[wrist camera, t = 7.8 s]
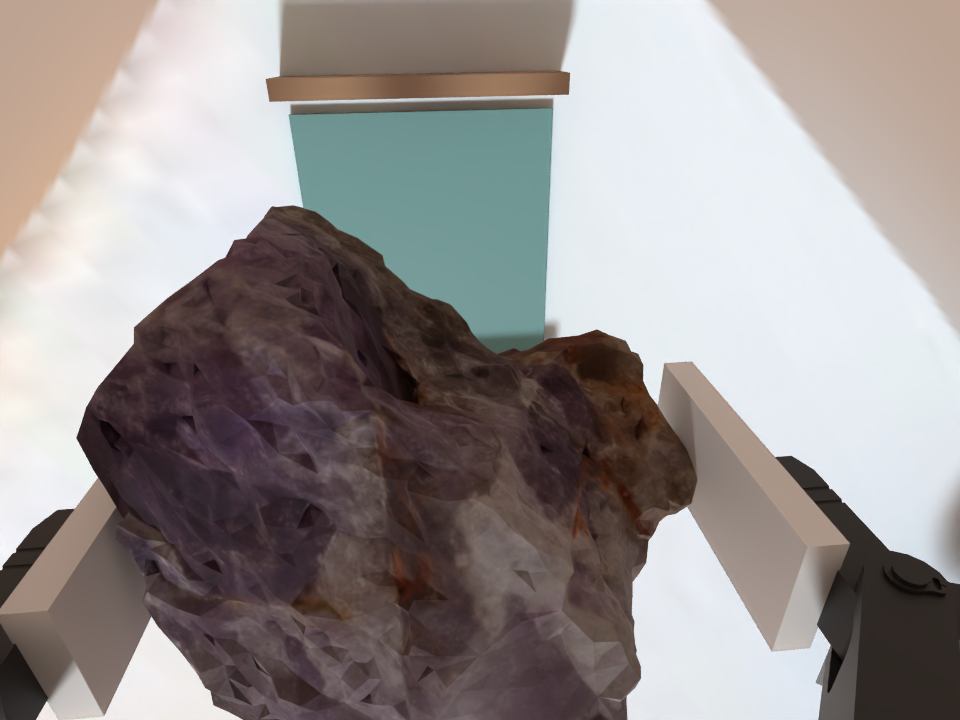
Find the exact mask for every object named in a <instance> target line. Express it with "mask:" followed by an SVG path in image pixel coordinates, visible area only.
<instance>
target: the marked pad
mask: <svg viewBox="0 0 960 720" xmlns="http://www.w3.org/2000/svg"><path fill="white" fill-rule="evenodd" d="M552 112H553V108H526V109H486V110H446V111H407V112H367V113H328V114H290V115H289V119H290V125H291V132H292V138H293V145H294V151H295V157H296V164H297V170H298V176H299V183H300V189H301V195H302V202H303V208H304V209H308V210H311V211H315V212H317V213H318V214H320V215H321V216H322V217H324V218H325V219H326V220H328V221H329V222H330V223H331V224H332V225H334V226H335V227H336V228H337V229H338V230H341V231H343V232H345V233H348V234H350V235H352V236H354V237H357V238H359V239H360V240H361V241H363V242H364V243H366V244H367V245H368V246H370V247H371V248H373V249H374V250H376V251H377V252H379V253H380V254H382V255H383V259H384V263H385V266H386V267H387V268H388V269H389V270H391V271H392V272H393V273H394V274H395V275H396V276H397V277H399V278H400V279H401V280H402V281H403V282H404V283H405V284H406V285H407V286H408V287H409V288H410V289H411V290H413V291H416V292H418V293H420V294H422V295H424V296H427V297H429V298H431V299H438V300H441V301H443V302H446V303H448V304H451V305H452V306H453V308H454V309H455V310H456V311H457V312H458V313H459V314H460V315H461V316H462V317H463V319H464V320H465V321H466V322H467V324H468V326H469V328H470V330H471V332H472V333H473V334H474V336H475V337H476V338H477V339H478V340H479V341H480V342H481V343H482V344H483V345H484V346H486V347H487V348H488V349H490V350H491V351H493V352H495V353H496V354H498V353H501V352H504V351H507V350H510V349H512V348H515V349H517V350H519V351H525V350H528V349H530V348H532V347H534V346H536V345H538V344H540V343H541V342H543V340H544V315H545V289H546V264H547V239H548V213H549V188H550V163H551V137H552Z"/></svg>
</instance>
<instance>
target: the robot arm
mask: <svg viewBox="0 0 960 720" xmlns="http://www.w3.org/2000/svg"><path fill="white" fill-rule="evenodd" d="M658 407H659V409H660V410H661V412H662V414H663V415H664V417H665V419H666V420H667V422H668V423H669V424H670V426H671V427H672V429H673V430H674V432H675V433H676V435H677V436H678V437H679V439H680V440H681V442H682V443H683V445H684V446H685V448H686V449H687V452H688V454H689V457H690V459H691V461H692V464H693V467H694V470H695V473H696V476H697V484H696V488H695V492H694V496H693V500H692V504H690V505H688V506H687V507H688V509H689V510H690V512H691V514H692V516H693V517H694V519H695V521H696V522H697V524H698V526H699V528H700V529H701V531H702V533H703V534H704V536H705V538H706V540H707V541H708V543H709V545H710V546H711V548H712V550H713V552H714V553H715V555H716V557H717V558H718V560H719V562H720V564H721V565H722V567H723V569H724V570H725V572H726V574H727V576H728V577H729V579H730V581H731V582H732V584H733V586H734V588H735V589H736V591H737V593H738V594H739V596H740V598H741V599H742V601H743V603H744V605H745V606H746V608H747V610H748V611H749V613H750V615H751V617H752V618H753V620H754V622H755V623H756V625H757V627H758V629H759V630H760V632H761V634H762V635H763V637H764V639H765V641H766V642H767V644H768V646H769V647H770V649H771V651H772V652H773V651H784V650H794V649H804V648H810V646H811V644H812V641H813V639H814V636H815V633H816V631H817V628H818V627H819V629H820V630H821V632H822V633H823V634H824V636H825V637H826V639H827V640H828V642H829V643H830V645H831V646H830V649H829V651H828V654H827V656H826V659H825V661H824V663H823V666H822V668H821V671H820V673H819V676H818V678H817V680H816V683H818V684H820V685H823V686H822V695H821V703H820V711H819V720H960V584H955V583H950V582H948V581H947V580H946V579H945V578H944V577H943V576H942V575H941V574H940V573H939V572H938V571H937V570H935V569H934V568H932V567H931V566H930V565H928V564H927V563H925V562H923V561H921V560H919V559H917V558H914V557H912V556H910V555H908V554H903V553H899V552H894V551H889V550H888V549H887V547H886V546H885V545H884V544H883V543H882V542H881V541H880V540H879V539H878V538H877V537H876V536H875V535H874V534H873V533H872V531H871V530H870V529H869V528H868V527H867V526H866V525H865V524H864V523H863V522H862V521H861V520H860V519H859V518H858V516H857V515H856V514H855V513H854V512H853V511H852V510H851V509H850V508H849V507H848V506H847V505H846V504H845V503H842V501H841V498H840V497H839V496H838V495H837V494H836V493H835V492H834V491H833V490H832V489H829V486H828V484H827V483H826V482H825V481H824V480H823V479H822V478H821V477H820V476H819V475H818V474H817V473H816V472H815V471H814V470H813V469H812V468H810V467H809V466H807V465H805V464H804V463H802V462H801V461H799V460H797V459H796V458H794V457H792V456H785V457H774V456H773V454H772V453H771V452H770V451H769V450H768V449H767V448H766V446H765V445H764V444H763V443H762V442H761V441H760V439H759V438H758V437H757V436H756V435H755V434H754V433H753V431H752V430H751V429H750V428H749V427H748V426H747V425H746V423H745V422H744V421H743V420H742V419H741V418H740V417H739V415H738V414H737V413H736V412H735V411H734V410H733V408H732V407H731V406H730V405H729V404H728V403H727V402H726V400H725V399H724V398H723V397H722V396H721V395H720V394H719V392H718V391H717V390H716V389H715V388H714V387H713V385H712V384H711V383H710V382H709V381H708V380H707V379H706V377H705V376H704V375H703V374H702V373H701V372H700V371H699V369H698V368H697V367H696V366H695V365H694V364H693V362H678V363H664V369H663V376H662V383H661V389H660V396H659V402H658ZM122 520H123V517H122V516H121V514H120V512H119V511H118V509H117V507H116V506H115V504H114V502H113V501H112V499H111V497H110V496H109V494H108V492H107V491H106V489H105V487H104V486H103V484H102V483H101V481H100V480H99V478H98V479H97V480H96V481H95V483H94V484H93V485H92V487H91V488H90V489H89V491H88V492H87V493H86V495H85V496H84V497H83V499H82V500H81V501H80V503H79V504H78V505H77V507H76V508H75V509H65V510H57V511H56V512H54V513H53V514H52V515H50V516H49V517H48V518H46V519H45V520H44V521H42V522H41V523H40V524H38V525H37V526H36V527H34V528H33V529H32V530H31V531H30V533H29V534H28V535H27V536H26V538H25V539H24V540H23V541H22V543H21V544H20V545H19V546H18V548H17V549H16V553H13V554H12V555H11V556H10V557H9V559H8V560H7V561H6V562H5V564H4V565H3V569H2V570H0V720H36V719H37V717H38V715H39V713H40V712H41V710H42V708H43V706H44V705H45V703H46V701H47V702H48V703H49V705H50V707H51V708H52V710H53V712H54V713H55V715H56V717H57V718H58V720H70V719H80V718H90V717H101V716H104V715H105V713H106V711H107V709H108V707H109V705H110V703H111V700H112V698H113V696H114V694H115V692H116V690H117V688H118V686H119V684H120V681H121V679H122V677H123V675H124V673H125V671H126V669H127V667H128V665H129V662H130V660H131V658H132V656H133V654H134V652H135V650H136V648H137V646H138V643H139V641H140V639H141V637H142V635H143V633H144V631H145V629H146V626H147V624H148V622H149V620H150V618H151V615H150V613H149V611H148V610H147V608H146V607H145V605H144V604H143V598H144V594H145V590H146V584H145V579H144V576H143V574H142V572H141V570H140V569H139V567H138V565H137V564H136V562H135V560H134V559H133V557H132V555H131V554H130V553H129V552H128V551H127V550H126V549H125V548H124V547H123V546H122V545H121V544H120V543H119V542H118V541H117V540H116V525H117V524H118V523H119V522H121V521H122Z"/></svg>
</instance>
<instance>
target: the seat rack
mask: <svg viewBox="0 0 960 720" xmlns="http://www.w3.org/2000/svg"><path fill="white" fill-rule="evenodd" d="M569 82H570V73H568V72H562V71H523V72H475V73H427V74H379V75H330V76H282V77H274V78H269V79H266V83H267V89H268V95H269V101H270V102H272V101H314V100H357V99H399V98H441V97H483V96H526V95H568V94H569Z"/></svg>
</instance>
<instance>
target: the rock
mask: <svg viewBox="0 0 960 720" xmlns="http://www.w3.org/2000/svg"><path fill="white" fill-rule="evenodd" d="M77 440H78V442H79V444H80V446H81V447H82V449H83V451H84V453H85V455H86V457H87V459H88V461H89V462H90V464H91V466H92V468H93V470H94V472H95V473H96V475H97V476H98V478H99V480H100V481H101V483H102V484H103V486H104V487H105V489H106V491H107V492H108V494H109V496H110V497H111V499H112V501H113V502H114V504H115V506H116V507H117V509H118V511H119V512H120V514H121V516H122V517H123V520H122V521H121V522H119V523H118V524H117V525H116V540H117V541H118V542H119V543H120V544H121V545H122V546H123V547H124V548H125V549H126V550H127V551H128V552H129V553H130V554H131V555H132V557H133V559H134V560H135V562H136V564H137V565H138V567H139V569H140V570H141V572H142V574H143V576H144V579H145V584H146V590H145V594H144V598H143V604H144V605H145V607H146V608H147V610H148V611H149V613H150V615H151V616H152V618H153V619H154V621H155V622H156V624H157V626H158V627H159V628H160V629H161V630H162V632H163V633H164V634H165V635H166V636H167V637H168V638H169V639H170V640H171V642H172V643H173V644H174V645H175V646H176V647H177V648H178V649H179V650H180V652H181V653H182V654H183V656H184V657H185V658H186V659H187V661H188V662H189V663H190V665H191V666H192V667H193V669H194V670H195V671H196V672H197V674H198V676H199V678H200V679H201V681H202V683H203V685H204V686H205V688H207V689H208V690H210V691H211V696H212V700H213V705H214V706H217V707H219V708H221V709H223V710H226V711H228V712H230V713H232V714H234V715H236V716H237V717H239V718H241V719H243V720H627V705H626V697H627V695H628V694H629V693H630V692H631V691H632V690H633V689H634V688H635V687H636V685H637V684H638V682H639V681H640V679H641V666H640V663H639V661H638V658H637V656H636V651H637V650H636V646H635V639H634V619H633V617H632V596H633V595H632V582H633V581H634V579H635V578H636V577H637V576H638V574H639V573H640V571H641V570H642V568H643V566H644V565H645V563H646V559H647V549H648V541H649V539H650V538H651V537H652V536H653V534H654V532H655V530H656V528H657V526H658V524H659V521H661V520H662V519H663V518H664V517H666V516H667V515H672V514H676V513H677V512H679V511H680V510H682V509H684V508H685V507H687V506H688V505H690V504H692V500H693V496H694V492H695V488H696V484H697V476H696V473H695V470H694V467H693V464H692V461H691V459H690V457H689V454H688V452H687V449H686V448H685V446H684V445H683V443H682V442H681V440H680V439H679V437H678V436H677V435H676V433H675V432H674V430H673V429H672V427H671V426H670V424H669V423H668V422H667V420H666V419H665V417H664V415H663V414H662V412H661V410H660V409H659V407H658V406H657V404H656V403H655V402H654V400H653V399H652V398H651V396H650V395H649V393H648V391H647V388H646V386H645V384H644V382H643V364H642V361H641V359H640V357H639V355H638V354H637V353H634V352H631V350H630V348H629V346H628V344H627V342H626V341H624V340H622V339H619V338H616V337H613V336H610V335H608V334H606V333H603V332H601V331H599V330H594V331H591V332H588V333H585V334H582V335H579V336H570V337H561V338H552V339H547V340H545V341H543V342H541V343H540V344H538V345H536V346H534V347H532V348H530V349H528V350H525V351H519V350H517V349H515V348H512V349H510V350H507V351H504V352H501V353H498V354H496V353H495V352H493V351H491V350H490V349H488V348H487V347H486V346H484V345H483V344H482V343H481V342H480V341H479V340H478V339H477V338H476V337H475V336H474V334H473V333H472V332H471V330H470V328H469V326H468V324H467V322H466V321H465V320H464V319H463V317H462V316H461V315H460V314H459V313H458V312H457V311H456V310H455V309H454V308H453V306H452V305H451V304H448V303H446V302H443V301H441V300H438V299H431V298H429V297H427V296H424V295H422V294H420V293H418V292H416V291H413V290H411V289H410V288H409V287H408V286H407V285H406V284H405V283H404V282H403V281H402V280H401V279H400V278H399V277H397V276H396V275H395V274H394V273H393V272H392V271H391V270H389V269H388V268H387V267H386V266H385V263H384V259H383V255H382V254H380V253H379V252H377V251H376V250H374V249H373V248H371V247H370V246H368V245H367V244H366V243H364V242H363V241H361V240H360V239H359V238H357V237H354V236H352V235H350V234H348V233H345V232H343V231H341V230H338V229H337V228H336V227H335V226H334V225H332V224H331V223H330V222H329V221H328V220H326V219H325V218H324V217H322V216H321V215H320V214H318V213H317V212H315V211H311V210H308V209H304V208H301V207H297V206H284V207H273V206H272V207H271V208H270V210H269V211H268V212H267V214H266V215H265V216H264V218H263V220H262V221H261V222H260V223H259V224H258V225H257V226H256V227H255V228H254V229H253V230H252V231H251V232H250V233H249V235H248V236H247V238H246V239H240V240H234V242H233V244H232V246H231V248H230V250H229V252H228V254H227V256H226V258H224V259H221V260H218V261H217V262H215V263H214V264H213V265H212V266H210V267H209V268H208V269H206V270H205V271H204V272H203V273H201V274H200V275H199V276H197V277H196V278H195V279H193V280H192V281H191V282H189V283H188V284H187V285H185V286H184V287H182V288H181V289H180V290H178V291H177V292H175V293H174V294H173V295H171V296H170V297H169V298H167V299H166V300H165V301H164V302H163V303H161V304H160V305H159V306H158V307H157V308H156V309H155V310H153V311H152V312H151V313H150V314H149V315H148V316H147V317H145V318H144V319H143V320H142V321H141V322H140V323H139V324H137V325H136V326H135V327H134V344H133V346H132V347H131V348H130V349H129V350H128V352H127V353H126V354H125V355H124V357H123V358H122V359H121V360H120V361H119V363H118V364H117V365H116V366H115V367H114V369H113V370H112V371H111V372H110V373H109V375H108V376H107V377H106V378H105V379H104V381H103V382H102V383H101V384H100V385H99V387H98V388H97V390H96V391H95V393H94V395H93V397H92V399H91V400H90V402H89V404H88V406H87V407H86V410H85V413H84V417H83V420H82V423H81V426H80V429H79V432H78V435H77Z"/></svg>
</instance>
